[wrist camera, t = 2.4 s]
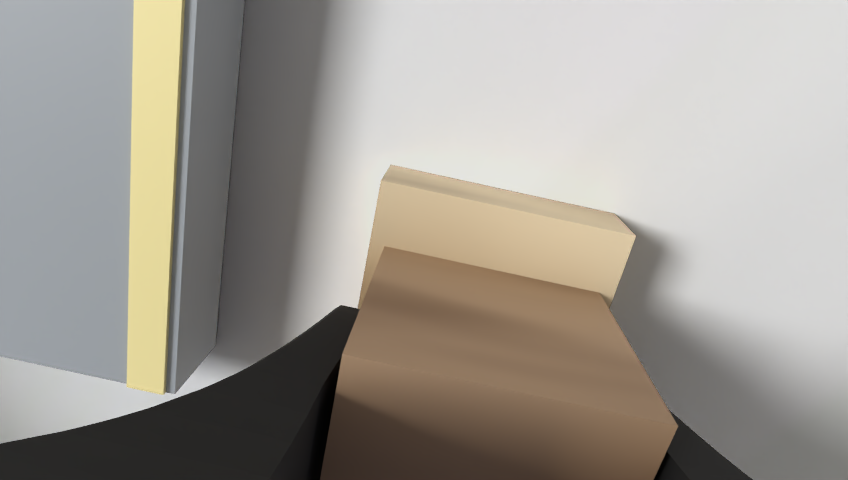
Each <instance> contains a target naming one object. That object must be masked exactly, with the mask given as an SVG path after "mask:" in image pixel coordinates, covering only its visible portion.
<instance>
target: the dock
mask: <svg viewBox="0 0 848 480" xmlns="http://www.w3.org/2000/svg"><path fill="white" fill-rule="evenodd" d="M244 4H245V0H0V356H2V357H6V358H11V359H16V360H20V361H25V362H29V363H34V364H39V365H43V366H48V367H52V368H57V369H62V370H66V371H71V372H75V373H80V374H85V375H89V376H94V377H98V378H103V379H108V380H112V381H117V382H121V383H126V384H127V387H129V388H134V389H138V390H143V391H147V392H152V393H157V394H161V395H164V394H165V392H167V393H172V394H175V393H176V392H177V391H178V390H179V389H180V387H181V386H182V385H183V384H184V383H185V381H186V380H187V379H188V378H189V377H190V375H191V374H192V373H193V372H194V371H195V369H196V368H197V367H198V366H199V365H200V363H201V362H202V361H203V360H204V359H205V358H206V356H207V355H208V354H209V353H210V352H211V350H212V349H213V348H214V347H215V344H216V333H217V321H218V309H219V297H220V286H221V274H222V262H223V251H224V239H225V227H226V215H227V204H228V192H229V180H230V168H231V157H232V145H233V133H234V122H235V110H236V98H237V86H238V75H239V63H240V51H241V39H242V28H243V16H244Z"/></svg>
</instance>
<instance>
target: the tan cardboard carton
mask: <svg viewBox="0 0 848 480" xmlns="http://www.w3.org/2000/svg"><path fill="white" fill-rule="evenodd" d="M635 238H636V235H635V234H634V233H633V232H632V231H631V230H630V229H629V228H628V227H627V226H626V225H625V224H624V223H623V222H622V221H621V220H620V219H619V218H618V217H617V216H616V215H615V214H614V213H609V212H604V211H600V210H595V209H591V208H586V207H581V206H577V205H572V204H568V203H563V202H559V201H554V200H549V199H545V198H540V197H536V196H531V195H527V194H522V193H517V192H513V191H508V190H504V189H499V188H494V187H490V186H485V185H481V184H476V183H472V182H467V181H462V180H458V179H453V178H449V177H444V176H440V175H435V174H430V173H426V172H421V171H417V170H412V169H407V168H403V167H398V166H394V165H390V167H389V169H388V170H387V172H386V173H385V175H384V177H383V178H382V180H381V184H380V189H379V195H378V200H377V206H376V211H375V217H374V222H373V228H372V233H371V239H370V244H369V250H368V255H367V261H366V266H365V271H364V277H363V282H362V288H361V293H360V299H359V304H358V309H360V310H359V313H358V315H357V318H356V320H355V323H354V325H353V328H352V330H351V333H350V336H349V338H348V341H347V343H346V346H345V348H344V351H343V354H342V359H341V364H340V370H339V375H338V381H337V387H336V392H335V398H334V404H333V409H332V415H331V421H330V426H329V432H328V437H327V443H326V449H325V454H324V460H323V466H322V471H321V477H320V480H654V478H655V476H656V473H657V471H658V469H659V467H660V465H661V463H662V460H663V458H664V456H665V454H666V452H667V449H668V447H669V445H670V443H671V441H672V439H673V436H674V434H675V432H676V430H677V428H678V425H677V423H676V422H675V420H674V418H673V416H672V415H671V413H670V411H669V410H668V408H667V406H666V405H665V403H664V401H663V400H662V398H661V396H660V394H659V393H658V391H657V389H656V388H655V386H654V384H653V383H652V381H651V379H650V377H649V376H648V374H647V372H646V371H645V369H644V367H643V366H642V364H641V362H640V361H639V359H638V357H637V355H636V354H635V352H634V350H633V349H632V347H631V345H630V344H629V342H628V340H627V339H626V337H625V335H624V333H623V332H622V330H621V328H620V327H619V325H618V323H617V322H616V320H615V318H614V316H613V315H612V313H611V311H610V310H609V308H610V305H611V303H612V300H613V297H614V295H615V292H616V289H617V286H618V284H619V281H620V278H621V276H622V273H623V270H624V268H625V265H626V262H627V259H628V257H629V254H630V251H631V249H632V246H633V243H634V240H635Z"/></svg>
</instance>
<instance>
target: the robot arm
mask: <svg viewBox="0 0 848 480" xmlns="http://www.w3.org/2000/svg"><path fill="white" fill-rule="evenodd" d="M359 310H360V309H357V308H352V307H347V306H343V305H341V306H339V307H337V308H336V309H334V310H333V311H332V312H330V313H329V314H328V315H326V316H325V317H324V318H323V319H321V320H320V321H319V322H317V323H316V324H315V325H313V326H312V327H311V328H309V329H308V330H307V331H305V332H304V333H302V334H301V335H299V336H298V337H296V338H295V339H293V340H292V341H291V342H289V343H288V344H286V345H285V346H283V347H282V348H280V349H278V350H277V351H275V352H273V353H272V354H270V355H268V356H267V357H265V358H263V359H262V360H260V361H258V362H257V363H255V364H253V365H252V366H250V367H248V368H246V369H244V370H242V371H240V372H238V373H236V374H234V375H232V376H230V377H228V378H225V379H223V380H221V381H219V382H217V383H215V384H212V385H210V386H208V387H205V388H203V389H200V390H198V391H195V392H192V393H189V394H187V395H184V396H181V397H178V398H176V399H173V400H170V401H168V402H165V403H162V404H159V405H157V406H154V407H151V408H148V409H145V410H141V411H138V412H135V413H131V414H128V415H124V416H121V417H118V418H114V419H110V420H106V421H103V422H99V423H95V424H91V425H87V426H83V427H79V428H75V429H71V430H66V431H62V432H57V433H52V434H47V435H42V436H37V437H32V438H27V439H22V440H17V441H12V442H7V443H2V444H0V480H320V477H321V471H322V466H323V460H324V454H325V449H326V443H327V437H328V432H329V426H330V421H331V415H332V409H333V404H334V398H335V392H336V387H337V381H338V375H339V370H340V364H341V359H342V354H343V351H344V348H345V346H346V343H347V341H348V338H349V336H350V333H351V330H352V328H353V325H354V323H355V320H356V318H357V315H358V313H359ZM669 411H670V410H669ZM670 413H671V415H672V416H673V418H674V420H675V422H676V423H677V425H678V428H677V430H676V432H675V434H674V436H673V439H672V441H671V443H670V445H669V447H668V449H667V452H666V454H665V456H664V458H663V460H662V463H661V465H660V467H659V469H658V471H657V473H656V476H655V478H654V480H752V479H751V478H750V477H748V476H747V475H746V474H745V473H743V472H742V471H741V470H740V469H738V468H737V467H736V466H735V465H733V464H732V463H731V462H730V461H728V460H727V459H726V458H725V457H723V456H722V455H721V454H720V453H718V452H717V451H716V450H715V449H714V448H712V447H711V446H710V445H709V444H708V443H706V442H705V441H704V440H703V439H702V438H700V437H699V436H698V435H697V434H696V433H695V432H693V431H692V430H691V429H690V428H689V427H688V426H687V425H685V424H684V423H683V422H682V421H681V420H680V419H679V418H677V417H676V416H675V415H674V414H673V413H672V412H671V411H670Z"/></svg>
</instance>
